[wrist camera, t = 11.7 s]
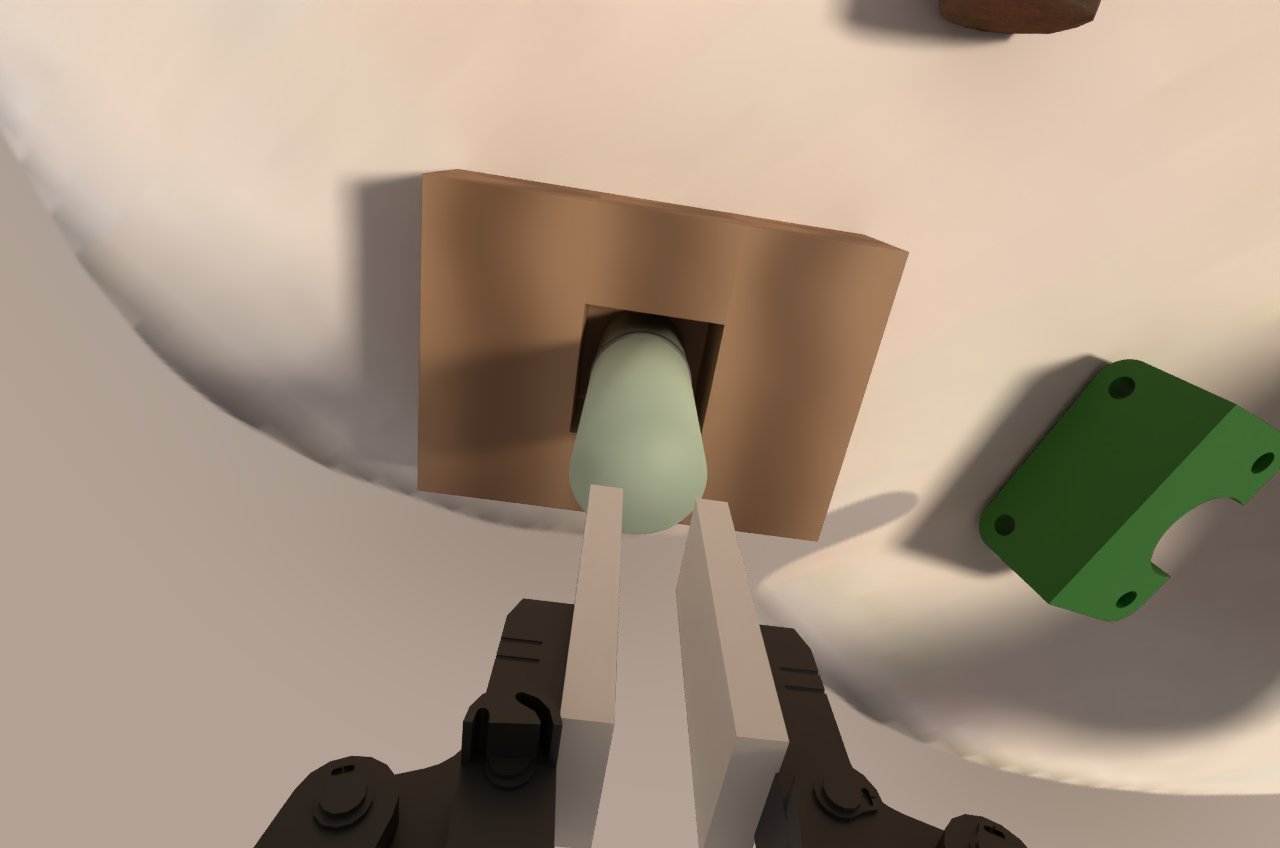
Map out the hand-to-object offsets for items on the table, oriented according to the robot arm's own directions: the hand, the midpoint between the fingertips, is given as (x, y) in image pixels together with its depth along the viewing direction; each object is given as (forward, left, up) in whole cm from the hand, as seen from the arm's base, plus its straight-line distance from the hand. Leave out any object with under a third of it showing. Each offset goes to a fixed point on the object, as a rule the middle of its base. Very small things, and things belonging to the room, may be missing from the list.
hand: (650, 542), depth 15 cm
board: (0, 0, -16) cm, 16 cm away
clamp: (-24, +3, -17) cm, 29 cm away
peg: (0, 0, -15) cm, 15 cm away
